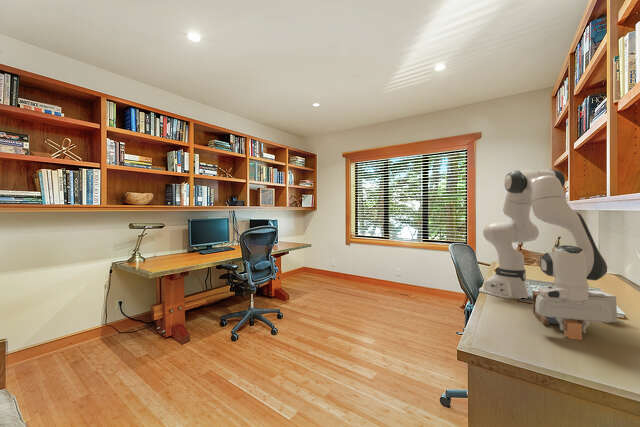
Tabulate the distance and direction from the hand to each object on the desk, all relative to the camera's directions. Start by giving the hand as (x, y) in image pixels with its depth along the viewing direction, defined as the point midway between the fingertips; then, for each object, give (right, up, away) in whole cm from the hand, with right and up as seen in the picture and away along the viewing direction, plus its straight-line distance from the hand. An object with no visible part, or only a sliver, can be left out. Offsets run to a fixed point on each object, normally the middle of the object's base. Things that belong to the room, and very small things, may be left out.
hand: (572, 331), depth 94 cm
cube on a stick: (+4, -2, +8) cm, 9 cm away
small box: (+25, -2, +14) cm, 29 cm away
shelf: (+6, -2, +13) cm, 14 cm away
